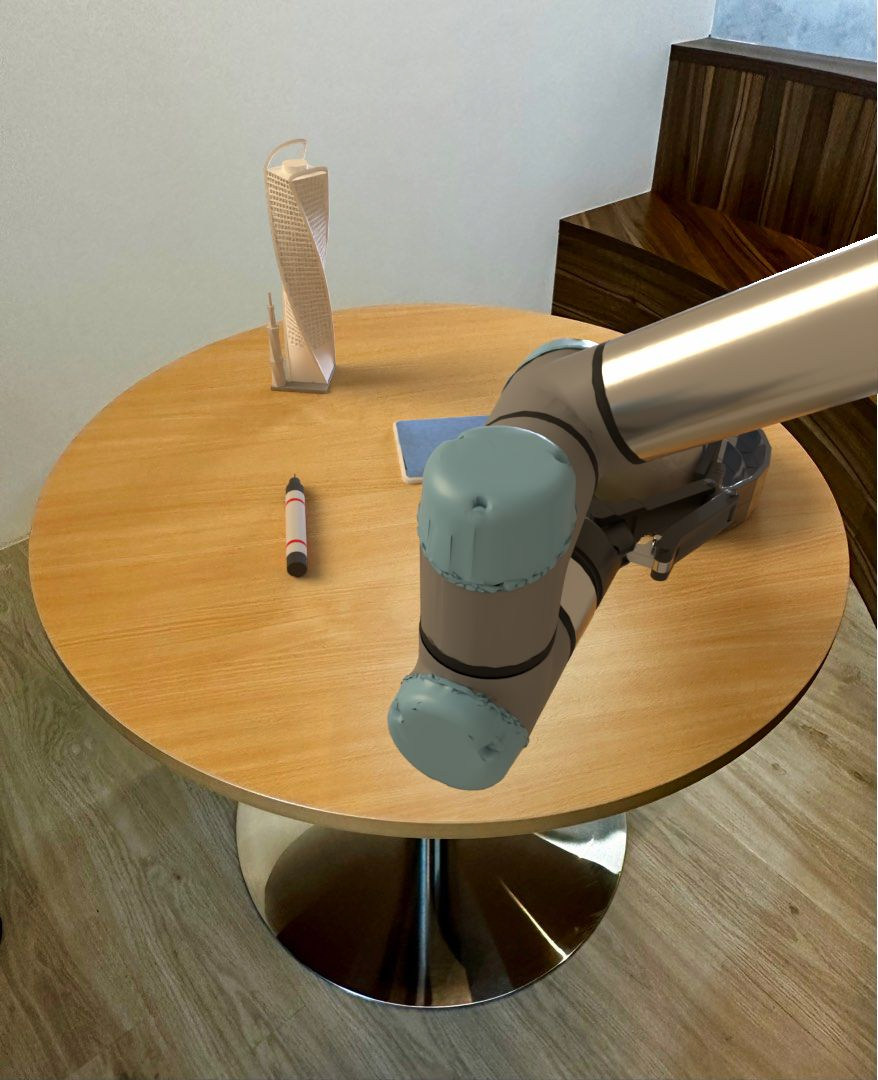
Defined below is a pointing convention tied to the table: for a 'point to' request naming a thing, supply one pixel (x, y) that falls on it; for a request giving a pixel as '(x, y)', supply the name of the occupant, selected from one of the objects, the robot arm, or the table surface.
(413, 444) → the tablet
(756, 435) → the dark grey dish
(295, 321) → the skyscraper
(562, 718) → the table surface
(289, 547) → the marker
